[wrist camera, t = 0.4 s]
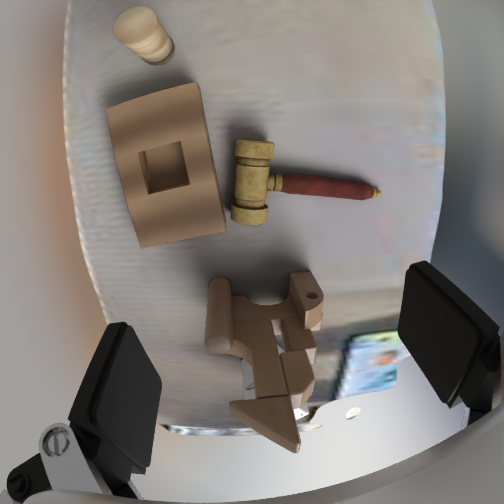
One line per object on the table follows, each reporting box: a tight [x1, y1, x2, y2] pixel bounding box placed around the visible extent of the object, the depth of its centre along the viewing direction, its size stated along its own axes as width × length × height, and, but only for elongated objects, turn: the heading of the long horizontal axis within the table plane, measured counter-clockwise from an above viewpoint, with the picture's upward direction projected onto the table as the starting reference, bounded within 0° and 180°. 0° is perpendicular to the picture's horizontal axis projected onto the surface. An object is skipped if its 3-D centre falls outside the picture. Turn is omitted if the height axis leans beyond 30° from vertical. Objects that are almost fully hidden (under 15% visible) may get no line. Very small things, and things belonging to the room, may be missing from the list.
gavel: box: [231, 139, 381, 225], centre depth 35 cm, size 21×5×10 cm
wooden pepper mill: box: [113, 6, 175, 65], centre depth 22 cm, size 4×4×12 cm
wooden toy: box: [205, 271, 324, 453], centre depth 31 cm, size 16×7×25 cm, turn 92°
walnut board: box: [106, 82, 226, 249], centre depth 32 cm, size 18×11×4 cm, turn 10°
